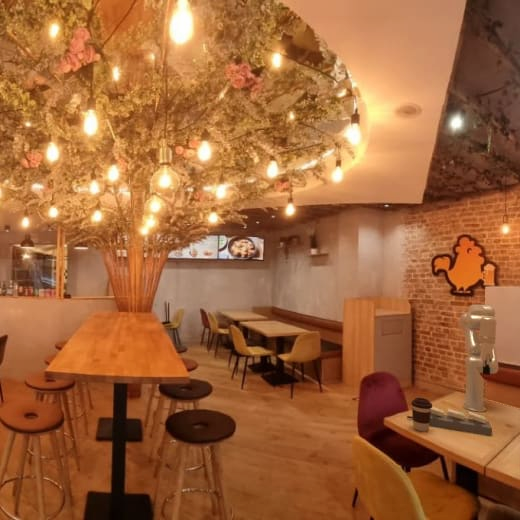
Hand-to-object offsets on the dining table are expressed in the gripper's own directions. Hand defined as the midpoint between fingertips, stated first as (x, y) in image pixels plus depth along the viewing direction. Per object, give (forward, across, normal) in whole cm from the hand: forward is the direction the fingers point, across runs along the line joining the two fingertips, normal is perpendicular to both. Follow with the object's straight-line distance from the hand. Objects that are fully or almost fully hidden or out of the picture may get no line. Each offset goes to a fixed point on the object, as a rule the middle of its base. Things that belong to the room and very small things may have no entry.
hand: (486, 374), depth 222 cm
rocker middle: (+21, +10, -15) cm, 28 cm away
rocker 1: (+21, +10, -25) cm, 34 cm away
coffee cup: (+27, +24, -32) cm, 48 cm away
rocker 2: (+21, +10, -5) cm, 24 cm away
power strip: (+27, +12, -19) cm, 35 cm away
